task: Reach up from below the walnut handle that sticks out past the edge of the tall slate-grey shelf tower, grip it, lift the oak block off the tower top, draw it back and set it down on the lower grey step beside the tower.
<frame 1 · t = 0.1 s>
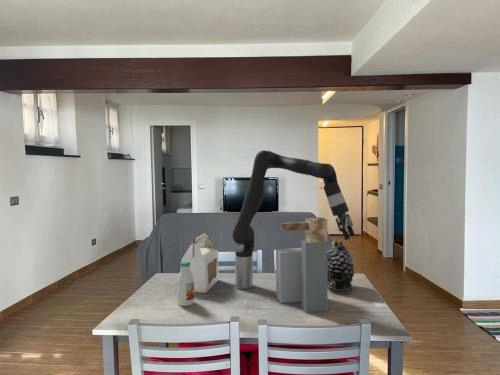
hand: (350, 237, 158), 32 cm above the table, tool tilted 20°, fingers open, 8 cm apart
slate shelf stand: (303, 304, 162), on the table
gable box: (201, 285, 191), on the table
oak block with handle: (316, 240, 154), point 31 cm above the table, touching slate shelf stand
dark fir cone: (338, 289, 182), on the table
milk bottle: (186, 303, 165), on the table
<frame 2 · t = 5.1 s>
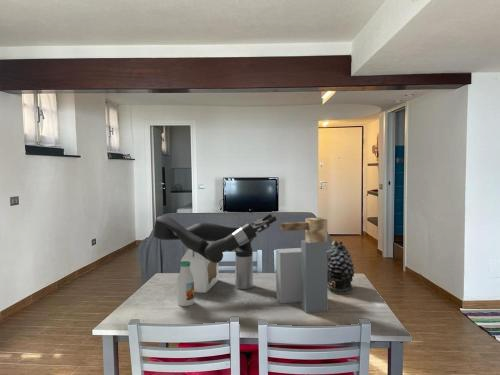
hand: (273, 216, 164), 41 cm above the table, tool pointing upward, fingers open, 8 cm apart
nothing on the table moved.
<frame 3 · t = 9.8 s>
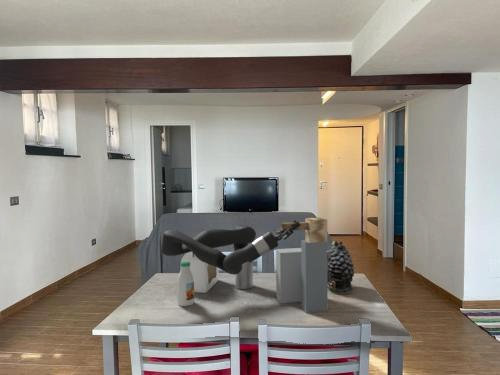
hand: (297, 222, 153), 39 cm above the table, tool pointing upward, fingers closed on oak block with handle, 3 cm apart
oak block with handle: (316, 240, 154), point 31 cm above the table, touching gripper, slate shelf stand
everything else where it was.
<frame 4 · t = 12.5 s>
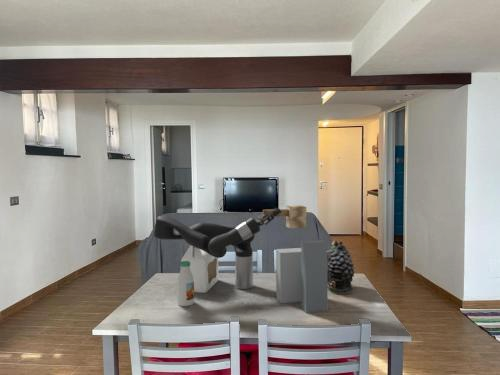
hand: (278, 209, 163), 44 cm above the table, tool pointing upward, fingers closed on oak block with handle, 3 cm apart
oak block with handle: (296, 227, 165), point 36 cm above the table, touching gripper
everything else where it was.
when the fingers open (32 cm above the table, at t = 15.2 s): oak block with handle stays where it is, resting on slate shelf stand.
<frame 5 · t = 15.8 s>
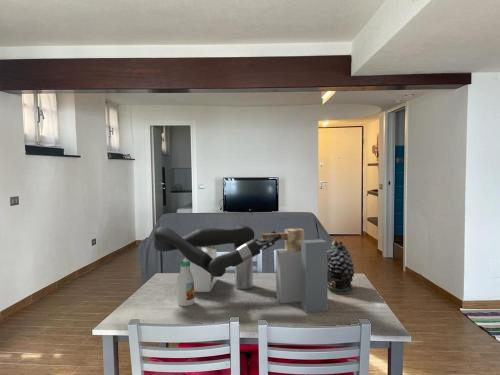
hand: (277, 234, 166), 32 cm above the table, tool pointing upward, fingers open, 8 cm apart
gable box: (202, 285, 191), on the table, touching arm
oak block with handle: (294, 250, 168), point 24 cm above the table, touching slate shelf stand
everything else where it was.
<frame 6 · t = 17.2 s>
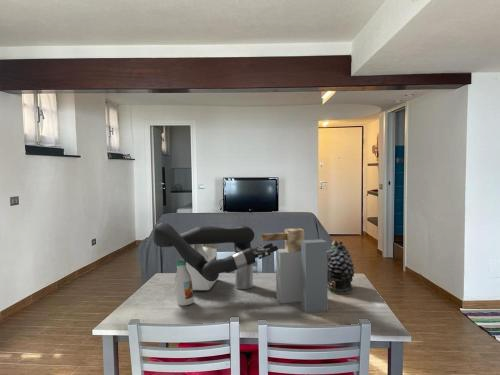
hand: (274, 246, 167), 26 cm above the table, tool pointing upward, fingers open, 8 cm apart
milk bottle: (186, 303, 165), on the table, touching arm
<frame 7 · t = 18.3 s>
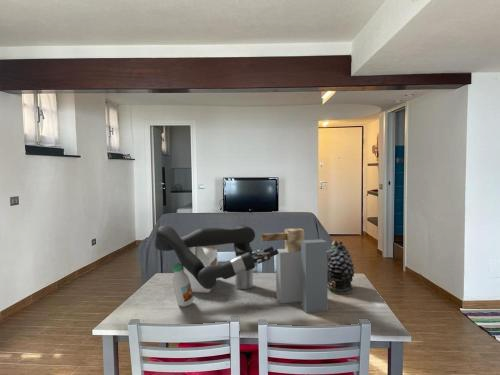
hand: (275, 249, 156), 27 cm above the table, tool pointing upward, fingers open, 8 cm apart
gable box: (202, 285, 191), on the table
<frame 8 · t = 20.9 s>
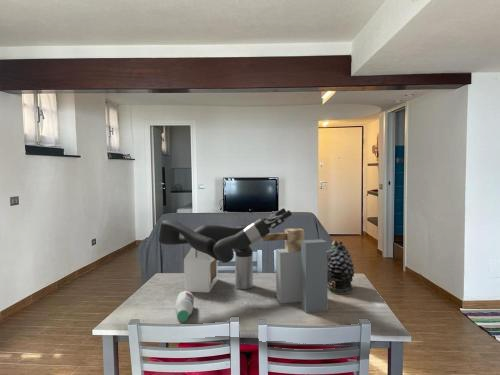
hand: (287, 211, 150), 45 cm above the table, tool pointing upward, fingers open, 8 cm apart
milk bottle: (185, 298, 161), point 4 cm above the table
everything else where it was.
at the end: oak block with handle inside the target area (0.3 cm from its centre), point 24.0 cm above the table; the gripper is holding nothing; oak block with handle moved 16.8 cm from its start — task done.
